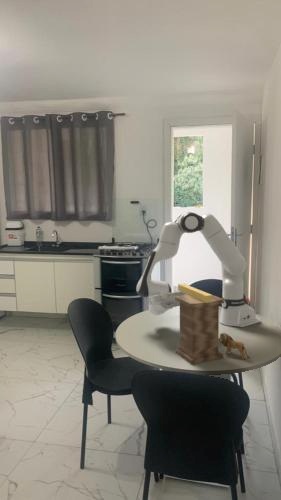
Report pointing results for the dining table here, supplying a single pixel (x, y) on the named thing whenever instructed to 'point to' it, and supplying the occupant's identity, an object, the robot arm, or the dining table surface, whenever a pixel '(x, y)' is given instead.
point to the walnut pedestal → (199, 329)
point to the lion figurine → (232, 344)
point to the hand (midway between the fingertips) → (176, 293)
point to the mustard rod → (195, 293)
